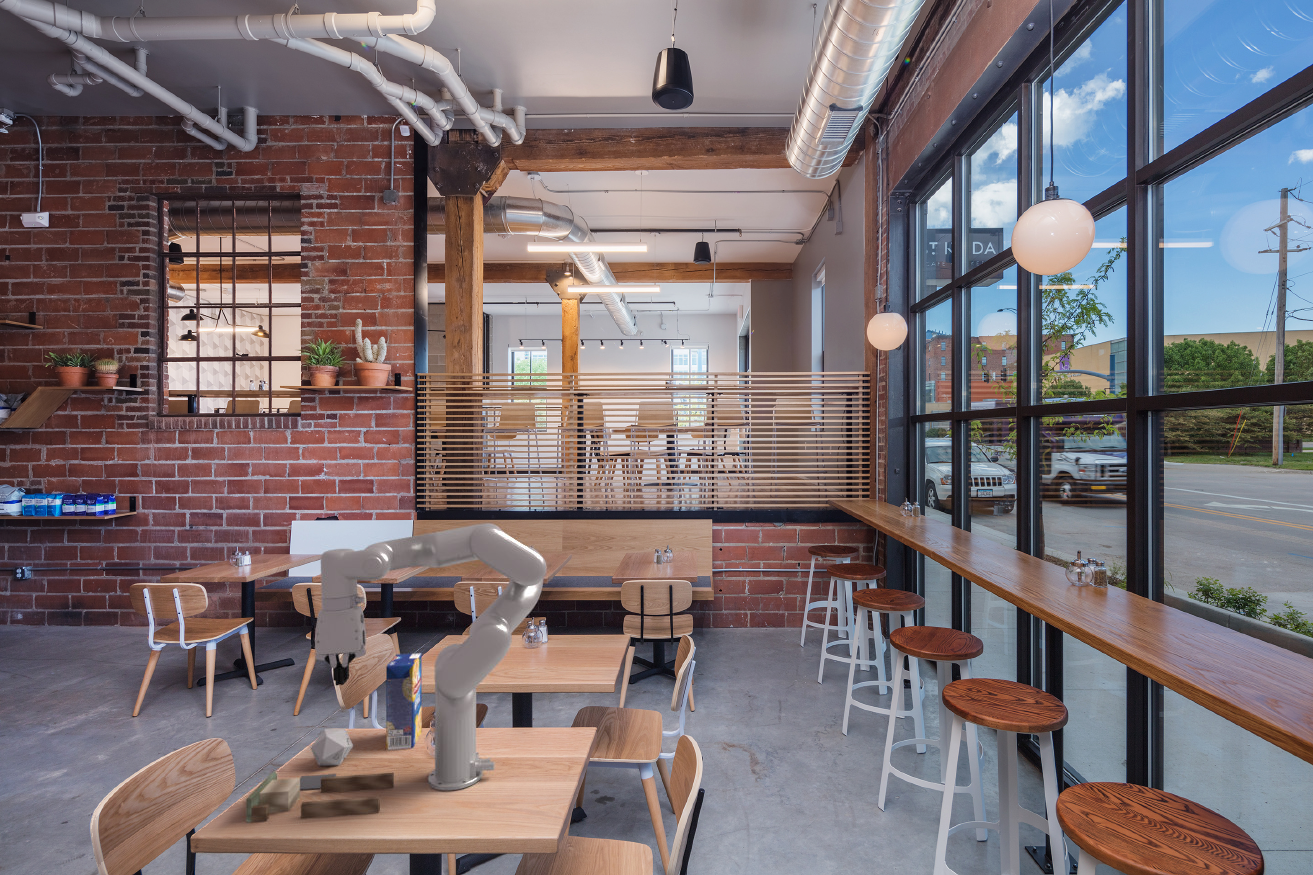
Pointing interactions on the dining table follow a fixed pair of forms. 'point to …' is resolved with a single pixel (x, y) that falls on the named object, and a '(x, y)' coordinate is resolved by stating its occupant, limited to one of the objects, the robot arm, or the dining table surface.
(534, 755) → the dining table surface
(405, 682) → the beverage box
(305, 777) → the mat
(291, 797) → the oak block
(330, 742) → the die
